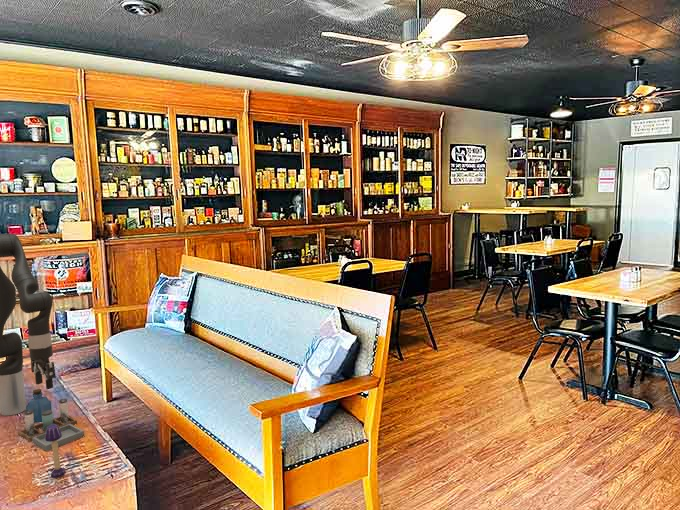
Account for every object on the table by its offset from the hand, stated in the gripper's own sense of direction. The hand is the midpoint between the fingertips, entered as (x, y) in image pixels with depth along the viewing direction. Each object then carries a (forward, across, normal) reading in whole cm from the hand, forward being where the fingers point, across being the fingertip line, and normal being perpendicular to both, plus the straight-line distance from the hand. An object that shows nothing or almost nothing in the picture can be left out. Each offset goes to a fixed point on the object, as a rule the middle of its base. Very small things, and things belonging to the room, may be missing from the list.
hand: (44, 386), depth 195 cm
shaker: (+18, 0, 0) cm, 18 cm away
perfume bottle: (+18, -13, +2) cm, 22 cm away
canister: (+18, 0, +6) cm, 19 cm away
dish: (+18, +12, -2) cm, 21 cm away
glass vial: (+18, 0, -6) cm, 19 cm away
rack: (+18, 0, 0) cm, 18 cm away
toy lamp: (+18, +36, -14) cm, 42 cm away
